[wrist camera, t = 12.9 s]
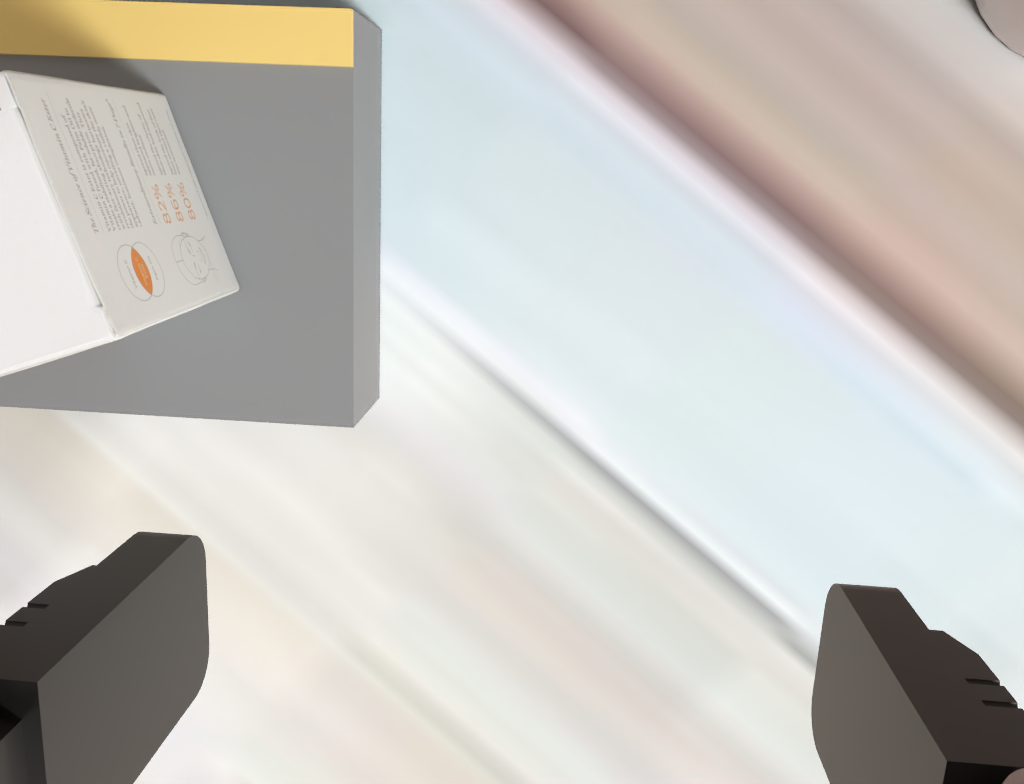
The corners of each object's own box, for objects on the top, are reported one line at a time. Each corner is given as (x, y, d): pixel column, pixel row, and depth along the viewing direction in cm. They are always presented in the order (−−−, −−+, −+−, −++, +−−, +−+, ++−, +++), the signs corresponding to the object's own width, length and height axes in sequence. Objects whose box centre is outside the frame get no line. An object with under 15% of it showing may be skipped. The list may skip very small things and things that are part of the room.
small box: (40, 137, 36) (-176, 126, 25) (169, 91, 35) (0, 60, 25) (120, 332, 37) (-53, 395, 27) (245, 292, 37) (116, 341, 26)
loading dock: (381, 29, 39) (351, 8, 33) (378, 397, 42) (351, 429, 37) (-9, 15, 39) (-96, -7, 34) (24, 377, 43) (-51, 405, 38)
